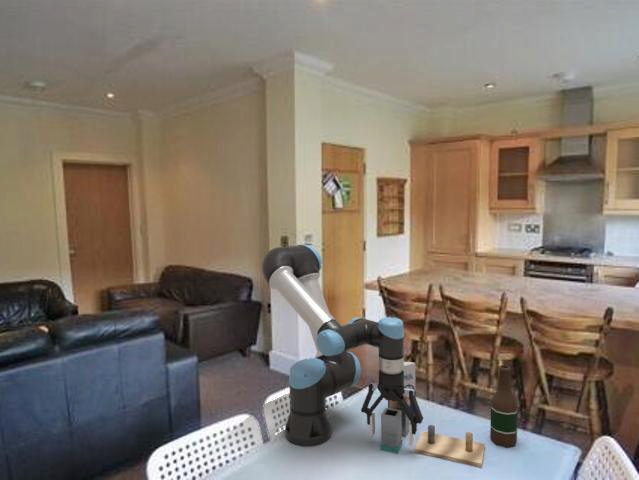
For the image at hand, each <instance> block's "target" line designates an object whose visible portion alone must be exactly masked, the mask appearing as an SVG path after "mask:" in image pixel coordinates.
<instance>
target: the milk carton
mask: <svg viewBox="0 0 639 480" xmlns="http://www.w3.org/2000/svg"><path fill="white" fill-rule="evenodd" d="M416 364H417V363H416V362H412V361H404V370H403V371H404V387H405V388H406V389H411V388H414V389H415V390H416ZM403 396H406V397H408V396H407V394H406V393H404V394H403ZM389 401H390V400H387V408H390V405H389ZM409 407H410V408H411V410H412V411H413V408H412V406H411V403H409ZM413 413H414V411H413ZM414 415H415V414H414Z"/></svg>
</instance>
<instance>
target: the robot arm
mask: <svg viewBox="0 0 639 480" xmlns="http://www.w3.org/2000/svg"><path fill="white" fill-rule="evenodd" d="M322 263H323V261H322V257H321V255H320V252H319V251H318V250H317V249H316V248H315V247H314V246H312V245H311V244H296V245H290V246H289V245H288V246H277V247H273V248H271V249H270V250H269V251H267V252H266V253H265V254H264V257H263V259H262V263H261V273H262V276H263V279H264V280H265V282H266V283H267V284H268V285H269V287H270V288H271V289H273V290H277V292H278V293H280V295H281V296H282V297H283V298H284V300H286V302H287V303H288V304H289V305H290V306H291V308H293V310H294V311H295V312H296V313H297V315H298V316H299V317H300V318H301V319H302V320H303V321H304V323H306V325H307V326H308V329H309V331H310V334H311V337H312V340H313V343H314V346H315V349H316V354H315V356H314V357H313V358H312V357H310V358H309V359H308V358H303V359H301V360H299V361H296V362H294V363H293V365H292V366H291V367H290V369H289V378H288V384H289V414H288V417H287V421H286V424H285V427H284V428H285V429H284V431H285V433H284V434H285V435H284V436H285V438H286V440H287V441H288V442H290V443H291V444H294V445H298V446H301V447H313V446H316V445H321V444H323V443H325V442H327V441H328V440H329V439H330V438H331V436H332V424H331V421H330V418H329V416H328V412H327V407H326V406H327V403H326V402H327V401H326V400H327V398H329V397H331V396H334V395H336V394H339V393H341V392H344V391H347V390H350V388H352V387H354V386H355V385H357V383H358V382H359V381H360V377H361V374H362V373H361V372H362V369H361V363H360V360H359V359H358V357H357V355H355V354H354V353H353V352H350V350H354V349H358V348H360V347H363V346H366V345H367V346H371V347H375V348H378V369H379V370H378V383H375V382H374V381H370V383H369V384H368V391H367V394H366V397H365V399H364V401H363V404H362V407H361V409H360V412H361V413H364V414H365V415H366V424H367V426H368V425H369V437H370V438H373V437H374V435H375V434H376V413H375V412H374V411H375V409H376V408H377V407H378V405H379V404H380V403H381V402H382V400H383V399H384V400H385V401H388V400H391V401H394V402H396V401H397V402H398V404H399V405H400V406H401V407H402V409H403V410H404V412H405V414H406V415H407V417H408V418H409V431H408V446H411V447H412V445H413V444H414V435H416V433H417V431H418V424H419V425H420V424H422V423H423V420H424V417H423V414H422V411H421V409H420V406H419V403H418V400H417V398H416V388H415V389H414V388H411V389H406V388H405V387H404V371H403V370H404V362H405V354H404V344H405V331H404V321H403V320H402V319H400V318H397V317H391V316H389V317H387V316H386V317H382V318H379V320H378V322H377V321H374V320H370V319H368V318H364V317H353V318H351V320H350V321H348V322H347V324H344V325H343V324H342V325H341V324H340V323H339V321H337V320H336V319H335V318H334V317H333V316H332V314H331V313H330V309H329V308H328V305H327V302H326V299H325V297H324V293H323V291H322V289H321V285H320V283H319V279H320V276H321V274H320V271H321V270H322V269H321V268H322ZM376 390H378V392H379V393H380V395H379V396H378V398H376V400H375V401H374V403H373V404H372V405H371V406H370V407H369V404H370V402H371V400H372V396H373V395H374V392H375V391H376ZM404 393H406V394H407V396H408V397H409V400H410V403H411V406H412V408H413V411H414V413H413V411H412V410H411V408H410V407H409V405H408V403H407V402H406V400H405V397H404V396H403V394H404ZM414 414H415V415H414Z"/></svg>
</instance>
